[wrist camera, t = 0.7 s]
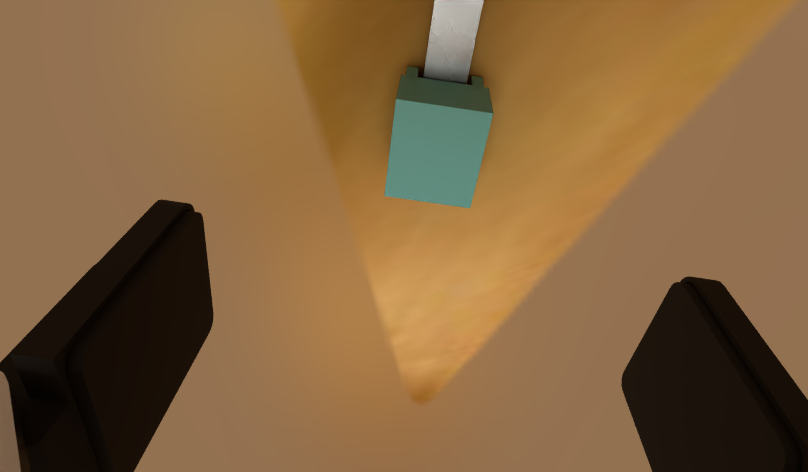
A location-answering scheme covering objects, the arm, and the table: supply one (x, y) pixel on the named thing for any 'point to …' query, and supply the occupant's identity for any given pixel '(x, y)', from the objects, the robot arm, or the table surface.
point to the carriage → (438, 139)
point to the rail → (452, 40)
